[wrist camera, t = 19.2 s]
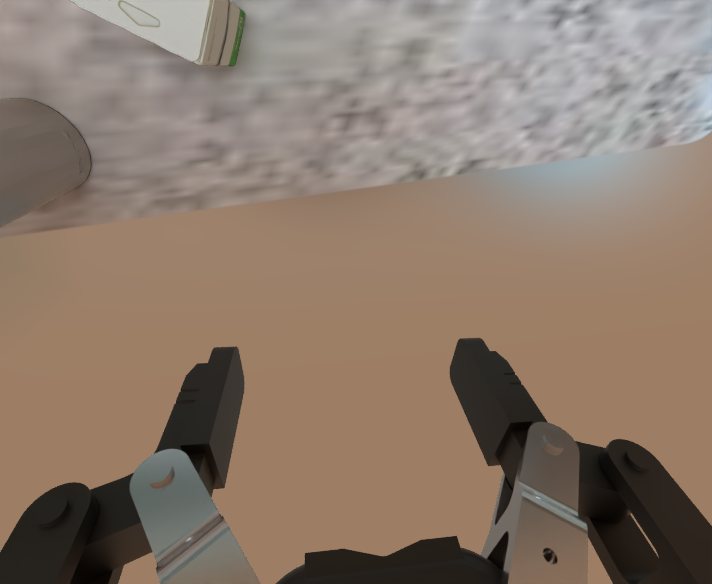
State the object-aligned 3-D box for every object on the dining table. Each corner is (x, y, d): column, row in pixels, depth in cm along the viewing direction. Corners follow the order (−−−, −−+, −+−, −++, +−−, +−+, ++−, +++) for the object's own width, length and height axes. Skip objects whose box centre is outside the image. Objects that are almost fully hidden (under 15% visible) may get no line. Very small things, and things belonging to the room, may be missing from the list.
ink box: (247, 11, 32) (219, -12, 22) (234, 68, 34) (203, 70, 24) (146, -46, 29) (61, -102, 19) (139, 20, 31) (60, 1, 21)
